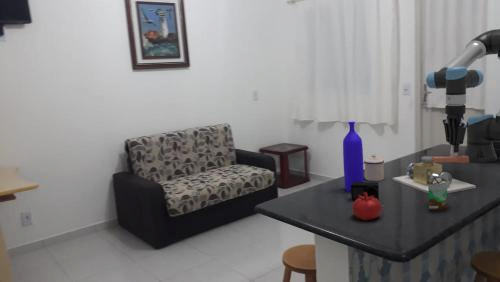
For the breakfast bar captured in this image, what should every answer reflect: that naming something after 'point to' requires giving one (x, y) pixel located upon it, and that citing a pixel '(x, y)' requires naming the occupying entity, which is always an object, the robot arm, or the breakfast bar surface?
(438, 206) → the food container
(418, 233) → the breakfast bar surface
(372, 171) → the teacup with lid
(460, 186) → the mounting board
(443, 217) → the breakfast bar surface
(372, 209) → the pomegranate
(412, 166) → the valve body
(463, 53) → the robot arm
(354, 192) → the digital camera
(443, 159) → the lever
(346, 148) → the bottle
